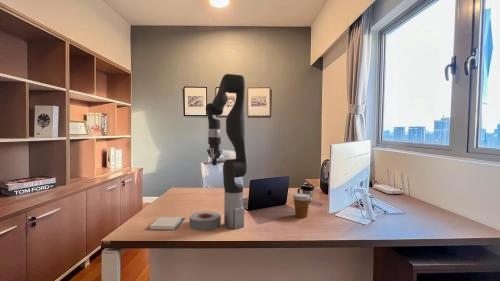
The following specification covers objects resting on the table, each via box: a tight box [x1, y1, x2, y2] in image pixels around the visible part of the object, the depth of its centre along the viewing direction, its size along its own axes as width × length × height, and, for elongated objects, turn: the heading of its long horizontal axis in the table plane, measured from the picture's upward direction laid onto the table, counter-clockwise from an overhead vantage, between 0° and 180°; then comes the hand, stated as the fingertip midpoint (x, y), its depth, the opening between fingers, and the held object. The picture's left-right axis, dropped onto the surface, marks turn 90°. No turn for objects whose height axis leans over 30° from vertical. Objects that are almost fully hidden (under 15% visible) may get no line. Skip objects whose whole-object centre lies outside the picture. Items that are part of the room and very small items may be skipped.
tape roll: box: [188, 211, 222, 232], centre depth 129 cm, size 15×15×5 cm
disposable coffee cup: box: [292, 192, 311, 219], centre depth 145 cm, size 10×10×12 cm
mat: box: [146, 217, 187, 232], centre depth 130 cm, size 14×18×1 cm
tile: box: [149, 216, 182, 231], centre depth 128 cm, size 11×2×13 cm
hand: (214, 165), depth 157 cm, fingers closed
